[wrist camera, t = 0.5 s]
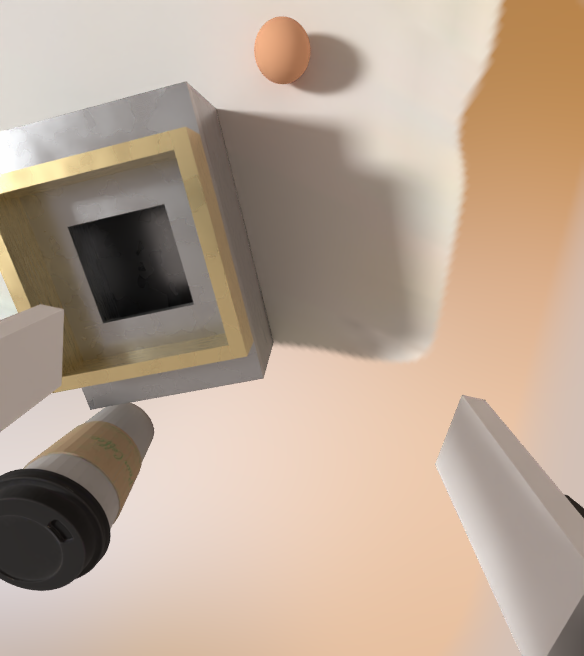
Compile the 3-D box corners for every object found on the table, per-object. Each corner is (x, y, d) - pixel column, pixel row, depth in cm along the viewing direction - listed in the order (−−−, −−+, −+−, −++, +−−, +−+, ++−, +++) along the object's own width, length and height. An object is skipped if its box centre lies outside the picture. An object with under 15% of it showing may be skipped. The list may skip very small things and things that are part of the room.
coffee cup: (187, 417, 41) (119, 535, 27) (144, 481, 44) (62, 619, 29) (103, 367, 40) (-14, 463, 26) (64, 436, 42) (-62, 557, 28)
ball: (252, 37, 31) (244, 15, 27) (304, 23, 30) (303, -2, 27) (265, 95, 32) (258, 82, 28) (315, 82, 32) (315, 67, 28)
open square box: (55, 150, 34) (-61, 129, 24) (216, 108, 32) (169, 66, 22) (133, 369, 40) (68, 430, 29) (273, 342, 38) (258, 396, 28)
